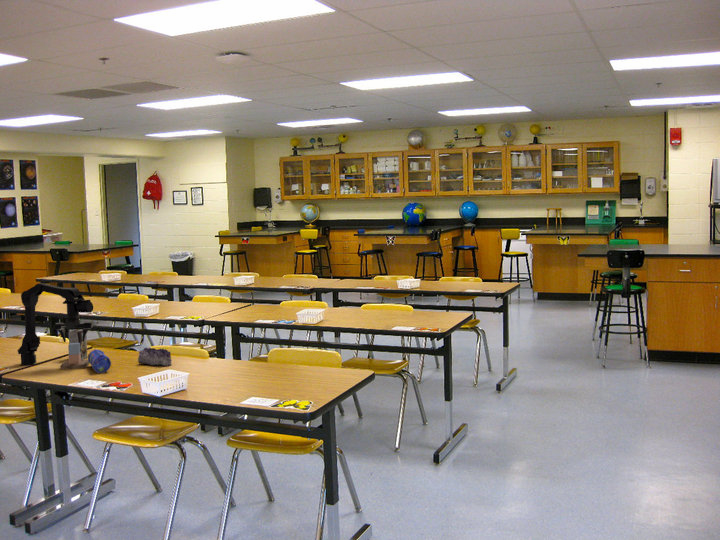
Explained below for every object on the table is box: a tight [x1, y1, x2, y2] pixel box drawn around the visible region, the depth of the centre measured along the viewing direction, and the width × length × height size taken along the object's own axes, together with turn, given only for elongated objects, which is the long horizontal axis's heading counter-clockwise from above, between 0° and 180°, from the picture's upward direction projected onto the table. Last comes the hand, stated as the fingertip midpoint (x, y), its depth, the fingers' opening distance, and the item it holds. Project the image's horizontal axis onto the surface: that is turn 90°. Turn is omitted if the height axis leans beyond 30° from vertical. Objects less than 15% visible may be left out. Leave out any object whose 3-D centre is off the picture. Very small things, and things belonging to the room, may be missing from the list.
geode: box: [137, 347, 172, 367], centre depth 363 cm, size 20×12×10 cm, turn 66°
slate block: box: [68, 343, 80, 355], centre depth 357 cm, size 5×5×5 cm
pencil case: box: [87, 348, 112, 374], centre depth 351 cm, size 22×9×10 cm, turn 29°
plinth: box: [59, 359, 90, 370], centre depth 358 cm, size 12×12×2 cm
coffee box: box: [68, 328, 88, 360], centre depth 375 cm, size 9×6×16 cm
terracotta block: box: [68, 352, 81, 364], centre depth 358 cm, size 5×5×5 cm
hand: (74, 341), depth 357 cm, fingers open, 9 cm apart
